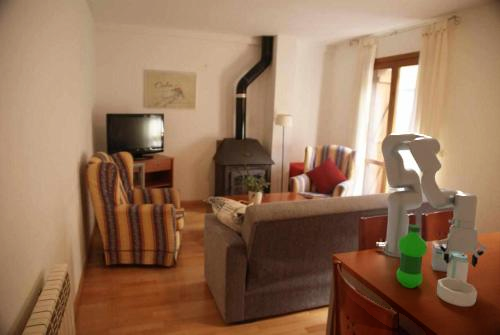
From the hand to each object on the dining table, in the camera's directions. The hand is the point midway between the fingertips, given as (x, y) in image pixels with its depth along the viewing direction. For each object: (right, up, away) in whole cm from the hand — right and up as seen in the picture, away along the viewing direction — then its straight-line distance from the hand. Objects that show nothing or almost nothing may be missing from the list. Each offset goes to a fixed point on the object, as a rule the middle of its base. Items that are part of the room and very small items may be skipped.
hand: (459, 263), depth 140 cm
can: (0, -8, +2) cm, 9 cm away
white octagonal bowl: (-8, -10, -10) cm, 16 cm away
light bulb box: (+2, -7, +14) cm, 15 cm away
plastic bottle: (-22, -9, -1) cm, 23 cm away
